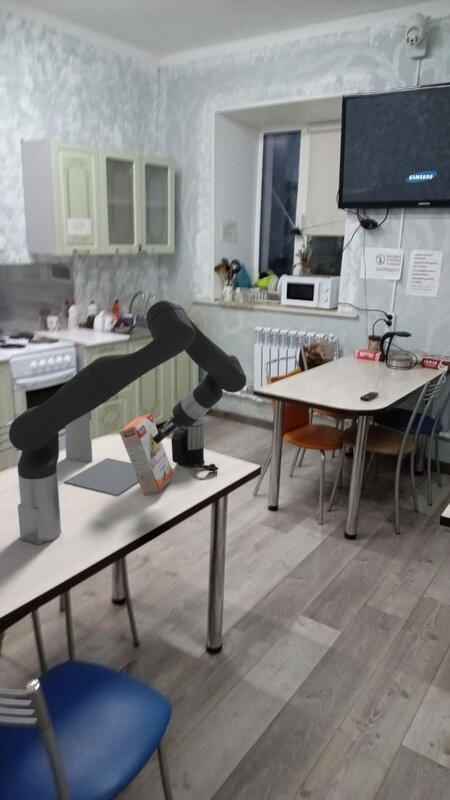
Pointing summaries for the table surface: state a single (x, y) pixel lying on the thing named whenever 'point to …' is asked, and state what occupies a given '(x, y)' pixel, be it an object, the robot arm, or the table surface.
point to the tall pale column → (79, 439)
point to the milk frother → (190, 446)
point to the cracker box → (146, 454)
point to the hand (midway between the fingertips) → (155, 440)
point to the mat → (106, 477)
